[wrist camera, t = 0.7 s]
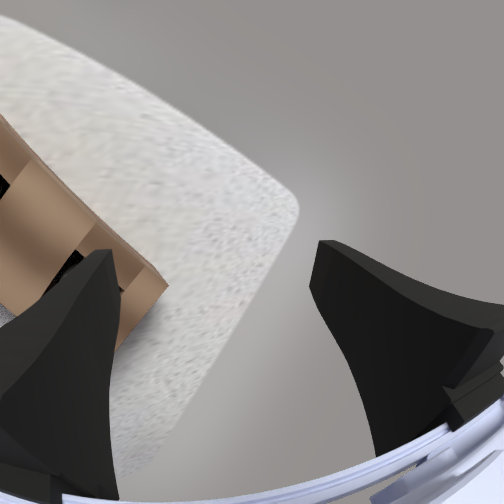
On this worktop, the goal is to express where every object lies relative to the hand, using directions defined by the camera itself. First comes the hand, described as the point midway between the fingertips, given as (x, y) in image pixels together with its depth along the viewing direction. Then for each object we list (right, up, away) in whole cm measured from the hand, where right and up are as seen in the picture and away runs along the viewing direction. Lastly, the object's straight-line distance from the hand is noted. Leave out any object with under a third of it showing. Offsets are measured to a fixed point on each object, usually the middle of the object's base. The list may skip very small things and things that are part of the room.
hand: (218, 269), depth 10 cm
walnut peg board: (-18, +2, +11) cm, 22 cm away
